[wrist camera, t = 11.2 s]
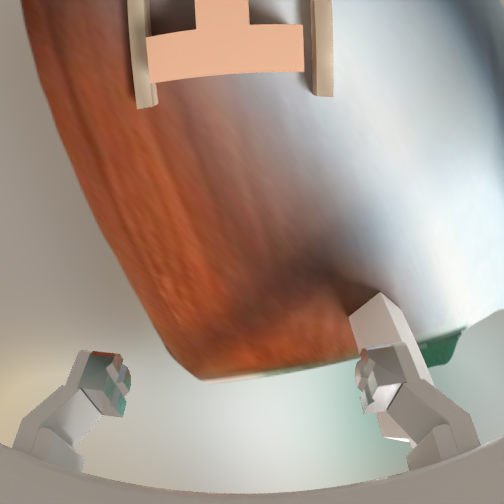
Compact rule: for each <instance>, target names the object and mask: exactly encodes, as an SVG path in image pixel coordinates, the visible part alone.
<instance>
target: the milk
mask: <svg viewBox="0 0 504 504" xmlns="http://www.w3.org/2000/svg"><path fill="white" fill-rule="evenodd" d="M349 321H350V324H351V327H352V330H353V333H354V337H355V340H356V343H357V346H358V350H359V353H361V350H362V349H363V348H364V347H371V346H378V345H385V344H394V343H400V342H405V343H406V344H407V347H408V349H409V351H410V354H411V356H412V359H413V361H414V364H415V366H416V369H417V371H418V374H419V376H420V379H421V380H422V379H425V380H426V381H428V382H429V383H430V384H431V385H433V386H434V383H433V381H432V379H431V376H430V374H429V371H428V369H427V366H426V364H425V361H424V359H423V357H422V354H421V352H420V350H419V348H418V345H417V343H416V341H415V339H414V336H413V334H412V332H411V330H410V328H409V326H408V323H407V321H406V319H405V317H404V315H403V313H402V311H401V309H400V308H399V307H397V306H396V305H395V304H394V303H393V302H392V301H391V300H389V299H388V298H387V297H386V296H385V295H384V294H382V293H381V292H379V293H378V294H377V295H375V296H374V297H373V298H372V299H370V300H369V301H368V302H367V303H365V304H364V305H363V306H362V307H360V308H359V309H358V310H356V311H355V312H354V313H353V314H351V315H350V316H349ZM434 387H435V386H434ZM376 414H377V418H378V422H379V425H380V429H381V434H382V437H386V438H390V439H395V440H400V441H405V442H410V445H411V448H412V450H413V449H414V448H415V447H416V446H417V444H416V443H415V442H414V441H413V440H412V439H411V438H410V437H409V436H408V434H407V433H406V432H405V431H404V430H403V429H402V428H401V427H400V426H399V425H398V424H397V423H396V422H395V421H394V420H393V419H392V418H391V417H390V415H389V414H388V413H387V412H386V411H382V412H376Z"/></svg>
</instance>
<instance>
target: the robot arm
mask: <svg viewBox="0 0 504 504" xmlns="http://www.w3.org/2000/svg"><path fill="white" fill-rule="evenodd" d="M360 356H361V360H359V361H358V362H357V365H356V370H355V378H356V384H357V388H359V389H360V390H361V391H362V395H361V397H360V401H361V405H362V409H363V413H364V414H368V413H375V412H382V411H386V412H387V413H388V414H389V415H390V417H391V418H392V419H393V420H394V421H395V422H396V423H397V424H398V425H399V426H400V427H401V428H402V429H403V430H404V431H405V432H406V433H407V434H408V436H409V437H410V438H411V439H412V440H413V441H414V442H415V443H416V444H417V446H416V447H415V448H414V449H413V450H412V451H411V452H410V453H409V454H408V455H407V457H406V458H407V463H408V467H409V471H407V472H404V473H400V474H396V475H392V476H388V477H384V478H380V479H375V480H371V481H366V482H361V483H355V484H350V485H344V486H337V487H331V488H323V489H315V490H307V491H296V492H281V493H259V494H226V493H204V492H190V491H179V490H170V489H162V488H155V487H148V486H141V485H136V484H130V483H125V482H120V481H115V480H110V479H106V478H102V477H97V476H93V475H89V474H86V473H82V468H83V464H84V458H83V456H82V455H81V454H80V453H78V452H77V451H76V450H75V449H74V448H75V447H76V446H77V445H78V444H79V442H80V441H81V440H82V439H83V438H84V437H85V436H86V434H87V433H88V432H89V431H90V430H91V429H92V428H93V426H94V425H95V424H96V423H97V422H98V421H99V419H101V417H102V415H107V416H115V417H123V414H124V410H125V406H126V400H125V398H124V396H125V395H126V394H127V393H128V392H129V390H130V386H131V375H130V372H129V370H128V368H127V367H126V366H125V365H123V364H122V362H123V358H122V357H121V355H120V354H115V353H106V352H97V351H88V350H81V351H80V352H79V353H78V355H77V357H76V360H75V362H74V365H73V367H72V370H71V372H70V375H69V377H68V380H67V383H66V385H65V386H63V385H62V386H61V387H60V388H58V389H57V390H56V391H55V392H54V393H53V394H51V395H50V396H49V397H48V398H47V399H46V400H44V401H43V402H42V403H41V404H40V405H39V406H37V407H36V408H35V409H34V410H33V411H31V412H30V413H29V414H28V415H27V416H26V417H24V418H23V419H22V421H21V424H20V427H19V429H18V432H17V435H16V438H15V441H14V444H13V447H12V448H10V447H7V446H5V445H3V444H1V443H0V504H504V435H503V436H501V437H499V438H497V439H495V440H493V441H490V442H488V443H486V444H484V445H480V442H479V439H478V436H477V433H476V430H475V427H474V425H473V422H472V420H471V417H470V415H469V414H468V413H467V412H466V411H464V410H463V409H462V408H461V407H459V406H458V405H457V404H456V403H454V402H453V401H452V400H451V399H449V398H448V397H447V396H445V395H444V394H443V393H442V392H440V391H439V390H438V389H436V388H435V387H434V386H433V385H431V384H430V383H429V382H428V381H426V380H425V379H422V380H421V379H420V376H419V374H418V371H417V369H416V366H415V364H414V361H413V359H412V356H411V354H410V351H409V349H408V347H407V344H406V343H405V342H400V343H394V344H385V345H378V346H371V347H364V348H363V349H362V350H361V353H360Z"/></svg>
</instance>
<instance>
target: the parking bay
mask: <svg viewBox="0 0 504 504" xmlns="http://www.w3.org/2000/svg"><path fill="white" fill-rule="evenodd" d="M127 5H128V23H129V37H130V49H131V60H132V70H133V79H134V88H135V96H136V104H137V109H141V108H147V107H153V106H155V105H157V104H158V96H157V87H156V83H151V84H150V77H149V67H148V57H147V46H146V37H151V36H152V32H151V16H150V0H127ZM310 15H311V41H312V94H313V95H315V96H324V97H333V25H332V2H331V0H310Z"/></svg>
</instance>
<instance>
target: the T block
mask: <svg viewBox="0 0 504 504" xmlns="http://www.w3.org/2000/svg"><path fill="white" fill-rule="evenodd" d="M195 16H196V29H195V30H187V31H180V32H174V33H168V34H162V35H156V36H151V37H146V46H147V57H148V67H149V77H150V84H151V83H157V82H164V81H170V80H177V79H185V78H193V77H202V76H212V75H223V74H237V73H257V72H304V42H303V25H296V24H259V25H250V22H249V5H248V0H195Z"/></svg>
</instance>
